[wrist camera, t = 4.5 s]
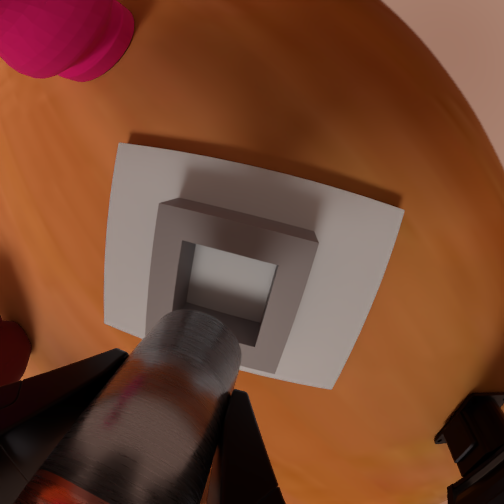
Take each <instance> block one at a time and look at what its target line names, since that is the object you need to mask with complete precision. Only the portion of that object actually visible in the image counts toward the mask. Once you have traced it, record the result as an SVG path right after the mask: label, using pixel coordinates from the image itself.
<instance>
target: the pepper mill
mask: <svg viewBox="0 0 504 504" xmlns="http://www.w3.org/2000/svg"><path fill="white" fill-rule="evenodd" d="M133 32H134V18H133V15H132V13H131V12H130V11H129V10H128V9H127V8H126V7H124V6H123V5H122V4H121V3H119V2H118V1H116V0H0V57H1V58H2V59H3V60H4V61H5V62H6V63H7V64H8V65H9V66H10V67H12V68H13V69H15V70H16V71H18V72H19V73H21V74H24V75H27V76H30V77H33V78H48V77H52V76H55V75H57V74H58V75H59V76H61V77H64V78H67V79H71V80H74V81H78V82H85V81H90V80H93V79H95V78H97V77H99V76H101V75H102V74H104V73H105V72H106V71H108V70H109V69H110V68H111V67H113V66H114V64H115V63H116V62H117V61H118V60H119V59H120V58H121V57H122V55H123V54H124V52H125V50H126V49H127V47H128V46H129V44H130V41H131V38H132V36H133Z"/></svg>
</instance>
